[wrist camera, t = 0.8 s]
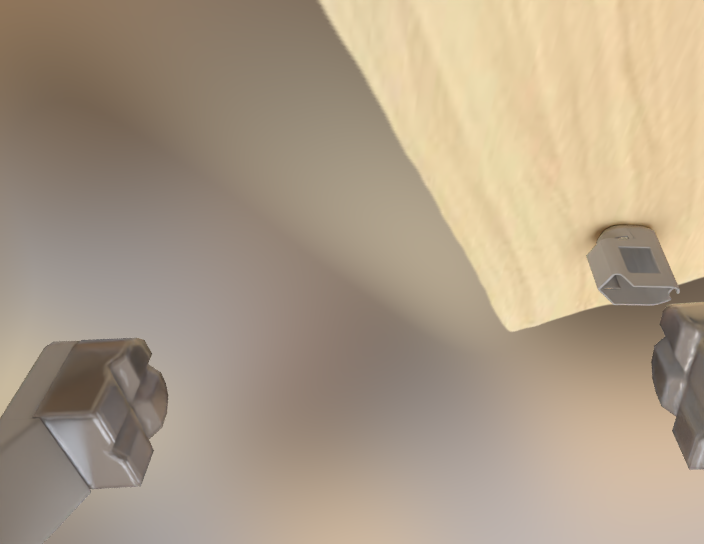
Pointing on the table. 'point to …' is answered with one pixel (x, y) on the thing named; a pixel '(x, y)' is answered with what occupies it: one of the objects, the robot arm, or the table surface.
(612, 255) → the cable organizer
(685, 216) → the table surface
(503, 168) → the table surface
